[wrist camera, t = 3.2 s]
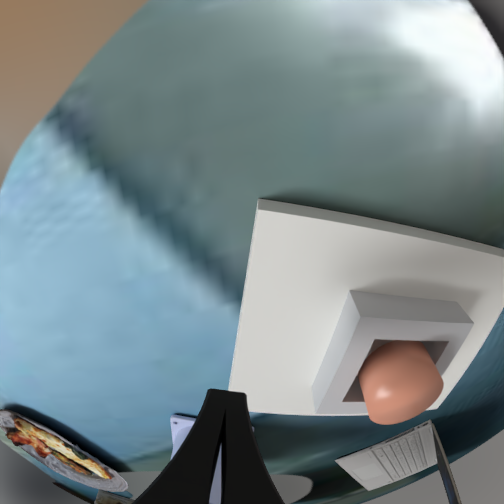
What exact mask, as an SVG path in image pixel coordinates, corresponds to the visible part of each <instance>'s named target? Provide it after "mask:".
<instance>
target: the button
mask: <svg viewBox="0 0 504 504" xmlns="http://www.w3.org/2000/svg"><path fill="white" fill-rule="evenodd" d="M358 379H359V383H360V386H361V390H362V393H363V397H364V400H365V404H366V407H367V411H368V415H369V418H370V419H371V420H372V421H373V422H375V423H378V424H385V425H387V424H396V423H400V422H403V421H406V420H409V419H411V418H413V417H415V416H417V415H419V414H420V413H422V412H423V411H425V410H426V409H428V408H429V407H430V406H431V405H432V404H433V403H434V402H435V401H436V400H437V399H438V397H439V396H440V394H441V392H442V390H443V386H444V382H443V379H442V377H441V376H440V374H439V372H438V370H437V368H436V366H435V364H434V362H433V360H432V359H431V357H430V355H429V353H428V351H427V350H426V348H425V346H424V344H423V343H422V342H420V341H410V340H394V341H391V342H389V343H386V344H384V345H382V346H381V347H379V348H377V349H376V350H375V351H373V352H372V353H371V354H370V355H369V356H368V357H367V358H366V359H365V360H364V362H363V364H362V366H361V368H360V370H359V372H358Z"/></svg>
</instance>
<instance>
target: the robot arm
mask: <svg viewBox="0 0 504 504" xmlns="http://www.w3.org/2000/svg"><path fill="white" fill-rule="evenodd" d="M170 420H171V430H172V439H173V451H172V456H171V460H170V462H169V463H168V465H167V466H166V467H165V468H164V470H163V471H162V472H161V474H160V475H159V476H158V477H157V478H156V479H155V480H154V481H153V482H152V484H151V485H150V486H149V487H148V488H147V489H146V490H145V491H144V492H143V493H142V494H141V495H140V496H139V497H138V498H137V499H136V500H135V501H134V502H133V503H131V504H285V503H284V502H283V500H282V498H281V496H280V495H279V493H278V491H277V489H276V487H275V485H274V484H273V482H272V480H271V477H270V475H269V473H268V471H267V469H266V466H265V464H264V461H263V459H262V456H261V454H260V451H259V448H258V445H257V442H256V439H255V436H254V427H253V426H252V425H251V421H250V416H249V411H248V404H247V395H246V394H245V393H244V392H235V391H226V390H219V389H209V390H208V391H207V394H206V398H205V400H204V403H203V405H202V408H201V410H200V412H199V414H198V416H197V419H196V418H190V417H185V416H179V415H172V416H171V419H170Z"/></svg>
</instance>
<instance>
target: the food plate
mask: <svg viewBox="0 0 504 504" xmlns="http://www.w3.org/2000/svg"><path fill="white" fill-rule="evenodd" d="M0 427H1V428H2V429H3V430H4V431H5V432H6V435H5V436H7V438H8V439H11V440H12V442H13V444H14V445H15V446H19V447H21V449H23V450H24V451H26V452H27V453H29V454H30V455H31V456H32V457H34V458H35V459H36V460H38V461H40V462H41V463H43V464H44V465H45V466H47V467H49V468H51V469H52V470H54V471H55V472H57V473H60V474H62V475H63V476H65V477H68V478H70V479H72V480H75V481H77V482H80V483H83V484H85V485H88V486H90V487H93V488H98V489H101V490H105V491H111V492H115V491H120V492H121V491H125V490H126V489H127V488H128V484H127V482H126V480H124V479H123V477H122V476H121V475H119V474H118V473H117V472H116V471H115V470H112V469H111V468H109V467H108V466H106V465H104V464H103V463H102V462H100V461H99V460H98V459H97V458H96V457H95V458H94V457H93V456H91V455H89V454H88V453H87V452H85V451H82V450H81V449H80V448H79V447H78V445H77V444H76V446H74V445H73V444H72V443H70V442H68V441H67V439H65V438H63V437H61V436H60V435H58V434H57V433H55V432H54V431H53V430H50V429H49V428H48V427H46V426H44V425H42V424H40V423H38V422H36V421H33V420H32V419H30V418H28V417H26V416H24V415H22V414H19V413H16V412H13V411H11V410H9V409H4V410H3V409H1V410H0ZM51 454H52V457H51ZM54 456H55V457H56V458H57V459H56V458H55V457H54ZM59 460H60V461H59ZM93 472H94V473H96V474H92V473H93Z"/></svg>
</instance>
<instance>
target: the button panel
mask: <svg viewBox="0 0 504 504" xmlns="http://www.w3.org/2000/svg"><path fill="white" fill-rule="evenodd" d="M503 307H504V249H501V248H497V247H493V246H490V245H486V244H482V243H478V242H474V241H470V240H466V239H462V238H458V237H454V236H450V235H446V234H442V233H438V232H433V231H429V230H425V229H420V228H416V227H411V226H407V225H402V224H397V223H393V222H388V221H383V220H378V219H373V218H368V217H363V216H358V215H353V214H347V213H342V212H337V211H331V210H326V209H320V208H314V207H309V206H303V205H297V204H291V203H284V202H278V201H272V200H265V199H259V198H258V203H257V209H256V215H255V222H254V228H253V234H252V241H251V247H250V253H249V260H248V266H247V273H246V279H245V285H244V292H243V298H242V304H241V311H240V317H239V324H238V330H237V336H236V343H235V349H234V356H233V362H232V368H231V375H230V381H229V388H228V391H235V392H244V393H245V394H246V395H247V404H248V411H250V412H261V413H273V414H289V415H314V416H353V415H368V411H367V407H366V404H365V400H364V397H363V393H362V390H361V386H360V383H359V379H358V372H359V370H360V368H361V366H362V364H363V362H364V360H365V359H366V358H367V357H368V356H369V355H370V354H371V353H372V352H373V351H375V350H376V349H377V348H379V347H381V346H382V345H384V344H386V343H389V342H391V341H394V340H410V341H420V342H422V343H423V344H424V346H425V348H426V350H427V351H428V353H429V355H430V357H431V359H432V360H433V362H434V364H435V366H436V368H437V370H438V372H439V374H440V376H441V377H442V379H443V382H444V386H443V390H442V392H441V394H440V396H439V397H438V399H437V400H436V401H435V402H434V403H433V404H432V405H431V406H430V407H429V408H428V409H426V410H432V409H437V408H438V407H439V406H440V404H441V403H442V402H443V401H444V399H445V398H446V397H447V395H448V394H449V393H450V392H451V390H452V389H453V388H454V386H455V385H456V383H457V382H458V381H459V379H460V378H461V376H462V375H463V374H464V372H465V371H466V369H467V368H468V366H469V365H470V363H471V362H472V360H473V359H474V357H475V356H476V354H477V353H478V351H479V349H480V348H481V346H482V345H483V343H484V341H485V340H486V338H487V336H488V335H489V333H490V331H491V329H492V328H493V326H494V324H495V322H496V320H497V319H498V317H499V315H500V313H501V311H502V309H503Z"/></svg>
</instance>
